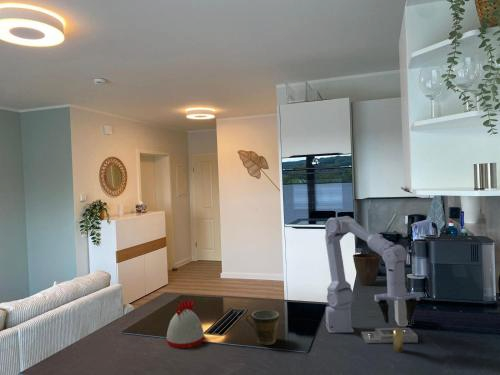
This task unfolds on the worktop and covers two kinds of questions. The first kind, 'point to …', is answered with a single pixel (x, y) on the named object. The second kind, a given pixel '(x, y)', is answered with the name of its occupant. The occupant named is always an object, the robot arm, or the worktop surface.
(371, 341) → the notched mounting plate
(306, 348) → the worktop surface
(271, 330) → the ceramic cup
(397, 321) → the small box
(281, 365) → the worktop surface
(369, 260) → the plant pot
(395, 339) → the brass pin
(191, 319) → the white red bobble hat
